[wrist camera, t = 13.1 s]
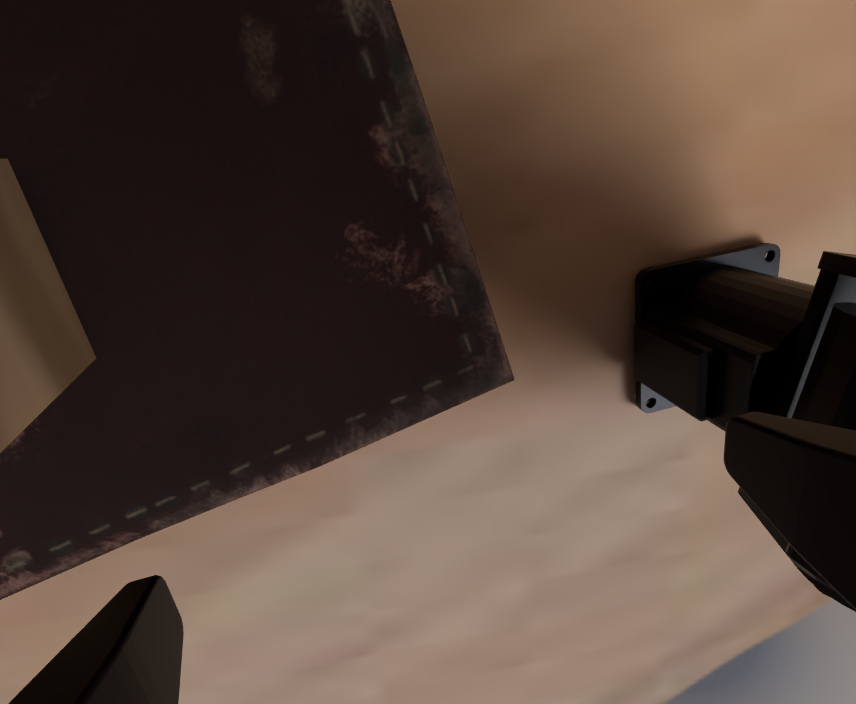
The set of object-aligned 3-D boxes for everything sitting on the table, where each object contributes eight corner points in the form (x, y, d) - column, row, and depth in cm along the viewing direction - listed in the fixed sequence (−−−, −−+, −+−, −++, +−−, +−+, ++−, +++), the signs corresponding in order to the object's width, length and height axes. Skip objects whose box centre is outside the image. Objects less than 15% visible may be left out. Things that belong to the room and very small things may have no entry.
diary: (-690, 96, 13) (-1254, 54, 8) (277, -217, 15) (266, -392, 10) (-128, 615, 20) (-259, 751, 15) (476, 353, 22) (524, 402, 17)
